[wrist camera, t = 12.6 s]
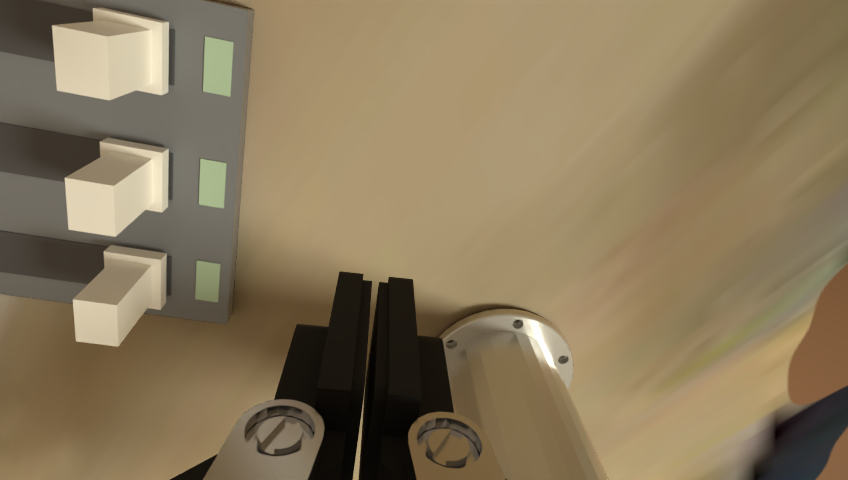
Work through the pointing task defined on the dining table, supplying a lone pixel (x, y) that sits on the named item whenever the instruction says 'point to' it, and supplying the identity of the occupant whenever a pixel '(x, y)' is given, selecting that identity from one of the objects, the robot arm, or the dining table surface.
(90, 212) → the breaker mid
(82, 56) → the breaker near
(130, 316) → the breaker far
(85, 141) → the console
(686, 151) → the dining table surface
